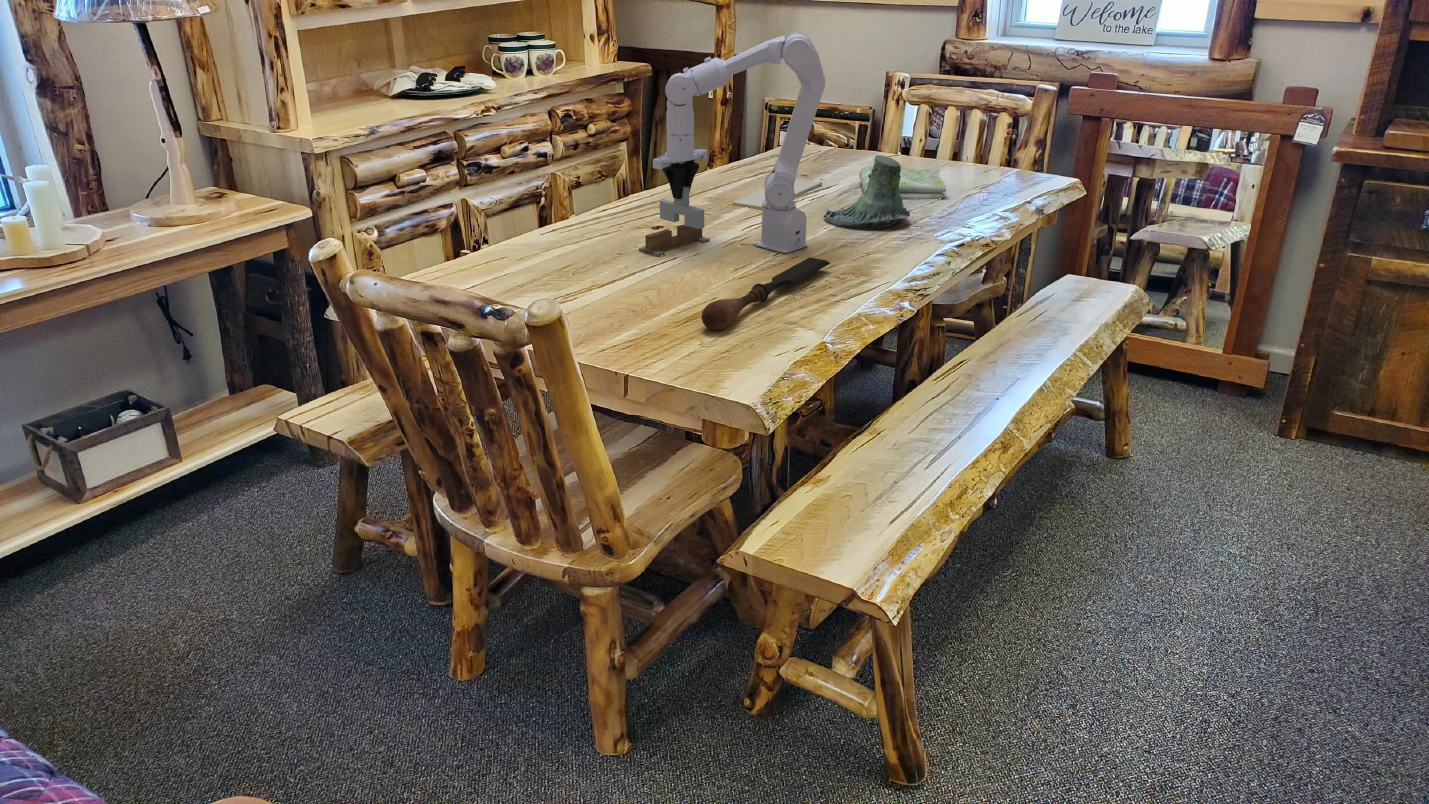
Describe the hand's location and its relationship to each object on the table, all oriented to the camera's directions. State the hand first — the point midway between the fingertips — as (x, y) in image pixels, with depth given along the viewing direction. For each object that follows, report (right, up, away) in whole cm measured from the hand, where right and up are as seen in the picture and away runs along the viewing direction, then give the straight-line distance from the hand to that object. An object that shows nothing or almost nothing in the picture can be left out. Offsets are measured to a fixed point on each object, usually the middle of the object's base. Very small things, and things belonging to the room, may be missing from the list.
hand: (680, 197), depth 221 cm
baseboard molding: (+23, +9, +46) cm, 52 cm away
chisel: (+18, -25, -28) cm, 41 cm away
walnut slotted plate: (-1, -10, +3) cm, 11 cm away
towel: (+57, +11, +49) cm, 76 cm away
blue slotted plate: (0, -5, +2) cm, 6 cm away
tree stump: (+44, -1, +23) cm, 49 cm away
